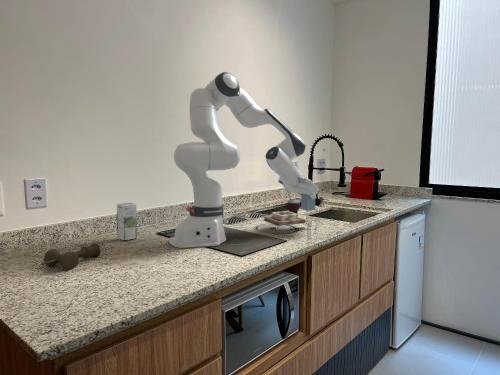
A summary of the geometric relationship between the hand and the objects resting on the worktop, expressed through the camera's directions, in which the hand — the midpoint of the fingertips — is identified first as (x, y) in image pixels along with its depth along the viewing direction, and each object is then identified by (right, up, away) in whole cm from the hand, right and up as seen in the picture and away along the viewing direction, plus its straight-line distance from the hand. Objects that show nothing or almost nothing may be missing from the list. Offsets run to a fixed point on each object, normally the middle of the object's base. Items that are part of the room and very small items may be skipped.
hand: (309, 197), depth 175 cm
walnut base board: (-10, -12, +14) cm, 21 cm away
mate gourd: (-4, -10, +33) cm, 35 cm away
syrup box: (-77, -16, -22) cm, 82 cm away
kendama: (-85, -20, -53) cm, 102 cm away
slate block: (-1, -5, 0) cm, 5 cm away
